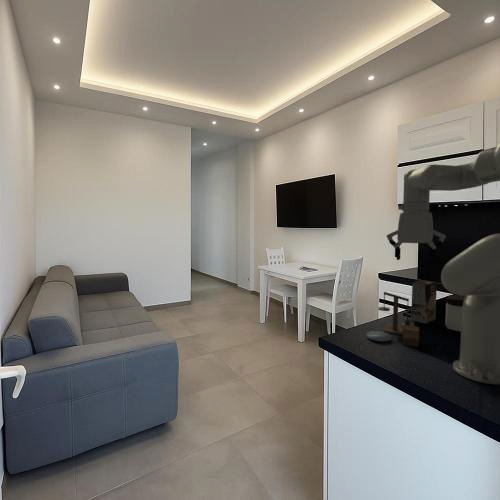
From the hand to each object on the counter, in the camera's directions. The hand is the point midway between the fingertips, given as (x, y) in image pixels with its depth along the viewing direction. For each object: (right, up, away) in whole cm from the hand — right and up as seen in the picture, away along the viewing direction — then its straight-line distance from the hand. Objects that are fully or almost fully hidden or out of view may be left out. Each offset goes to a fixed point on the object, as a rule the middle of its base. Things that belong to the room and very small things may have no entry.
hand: (414, 260), depth 103 cm
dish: (-9, -28, +7) cm, 30 cm away
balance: (0, -27, +13) cm, 30 cm away
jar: (+26, -27, +17) cm, 41 cm away
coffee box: (+18, -26, +27) cm, 42 cm away
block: (0, -28, +2) cm, 28 cm away
